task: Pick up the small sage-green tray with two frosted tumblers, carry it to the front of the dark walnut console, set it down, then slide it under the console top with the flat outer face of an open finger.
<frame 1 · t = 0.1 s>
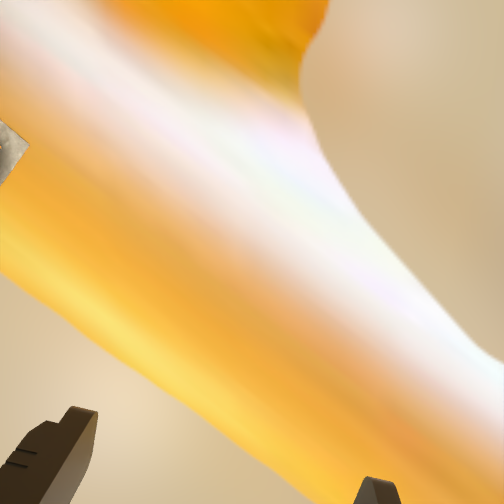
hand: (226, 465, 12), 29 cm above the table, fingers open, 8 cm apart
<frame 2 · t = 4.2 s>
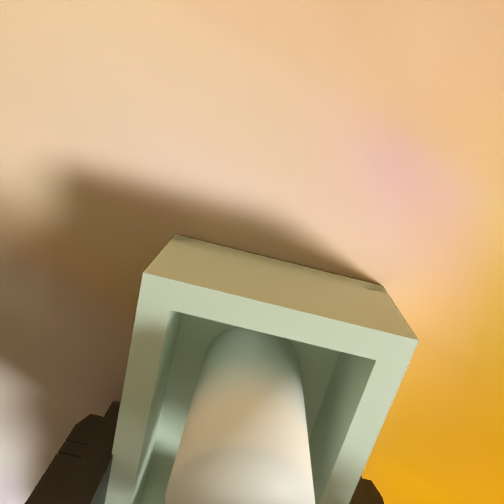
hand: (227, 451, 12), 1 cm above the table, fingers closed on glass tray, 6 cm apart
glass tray: (232, 428, 13), on the table, touching gripper
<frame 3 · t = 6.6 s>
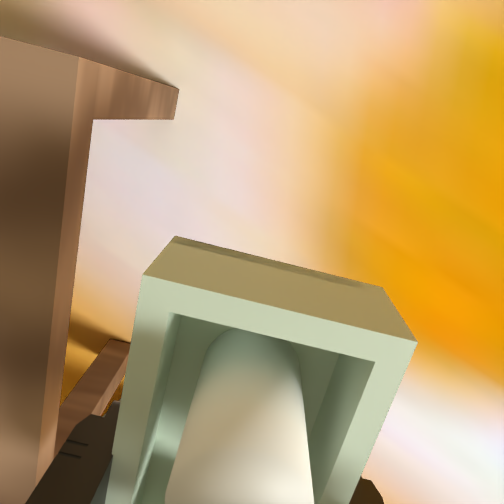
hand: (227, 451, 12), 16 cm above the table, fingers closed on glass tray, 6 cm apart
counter: (65, 220, 28), on the table
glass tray: (231, 429, 13), point 16 cm above the table, touching gripper
when the fingers open (2 cm above the table, at t = 9.2 s): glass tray stays where it is, on the table.
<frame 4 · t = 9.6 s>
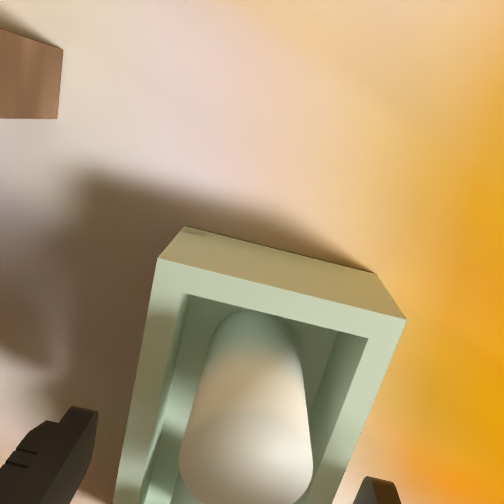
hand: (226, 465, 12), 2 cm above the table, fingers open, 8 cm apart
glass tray: (235, 409, 14), on the table
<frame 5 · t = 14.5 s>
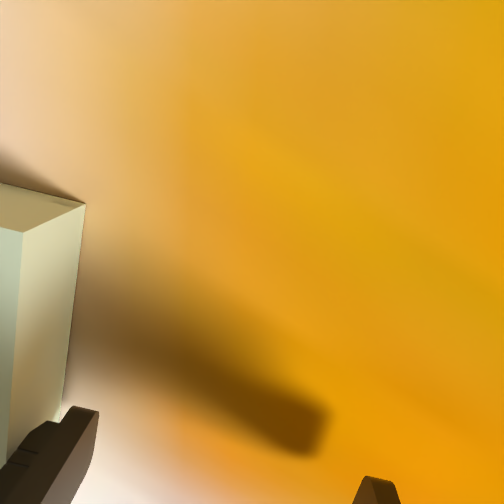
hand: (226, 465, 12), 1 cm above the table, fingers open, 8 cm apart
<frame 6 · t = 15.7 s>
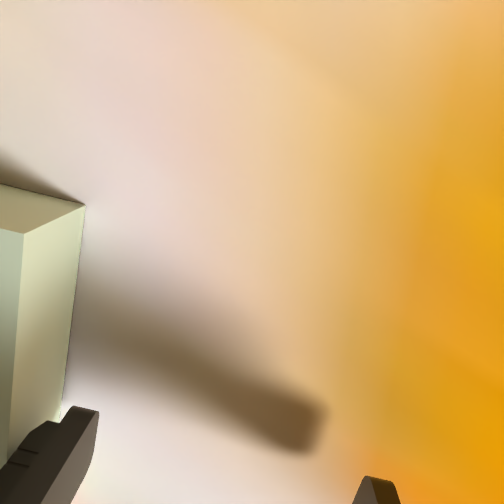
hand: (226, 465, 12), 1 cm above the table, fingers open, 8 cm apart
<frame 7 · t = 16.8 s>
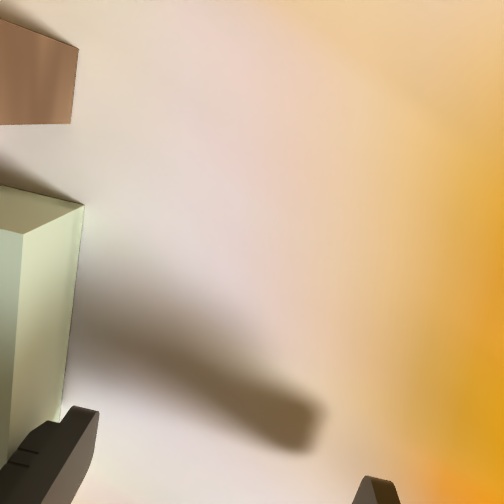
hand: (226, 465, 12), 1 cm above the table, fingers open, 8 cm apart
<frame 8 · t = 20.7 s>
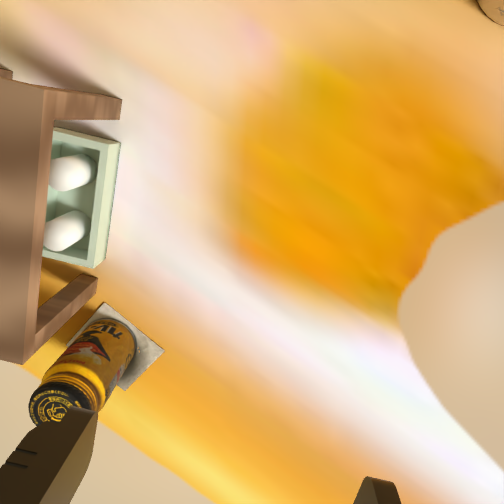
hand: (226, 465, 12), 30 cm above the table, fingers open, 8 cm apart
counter: (48, 188, 41), on the table
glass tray: (83, 196, 41), on the table
condiment: (116, 346, 46), on the table
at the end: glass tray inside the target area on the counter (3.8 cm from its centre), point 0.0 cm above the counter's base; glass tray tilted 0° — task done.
